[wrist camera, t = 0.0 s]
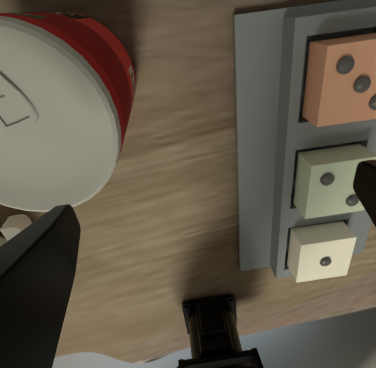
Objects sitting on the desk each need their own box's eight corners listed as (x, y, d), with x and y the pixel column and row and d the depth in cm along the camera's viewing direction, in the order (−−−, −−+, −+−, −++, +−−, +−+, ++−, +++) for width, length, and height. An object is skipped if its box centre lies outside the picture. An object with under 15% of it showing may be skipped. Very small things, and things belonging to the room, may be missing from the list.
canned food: (78, -18, 18) (-12, -46, 8) (159, 88, 21) (160, 151, 12) (-3, 61, 19) (-150, 111, 10) (85, 146, 23) (36, 239, 14)
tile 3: (368, 106, 21) (391, 117, 19) (302, 116, 21) (318, 128, 19) (385, 31, 19) (414, 34, 16) (309, 41, 18) (329, 46, 16)
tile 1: (334, 257, 30) (347, 276, 28) (287, 264, 30) (296, 284, 28) (342, 220, 27) (358, 238, 25) (290, 228, 27) (302, 247, 25)
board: (359, 249, 33) (373, 266, 31) (239, 267, 32) (245, 285, 30) (435, -14, 19) (469, -16, 17) (232, 14, 19) (242, 15, 17)
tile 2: (348, 194, 25) (365, 211, 23) (293, 202, 25) (305, 220, 23) (359, 143, 23) (380, 157, 21) (298, 152, 23) (313, 167, 21)
